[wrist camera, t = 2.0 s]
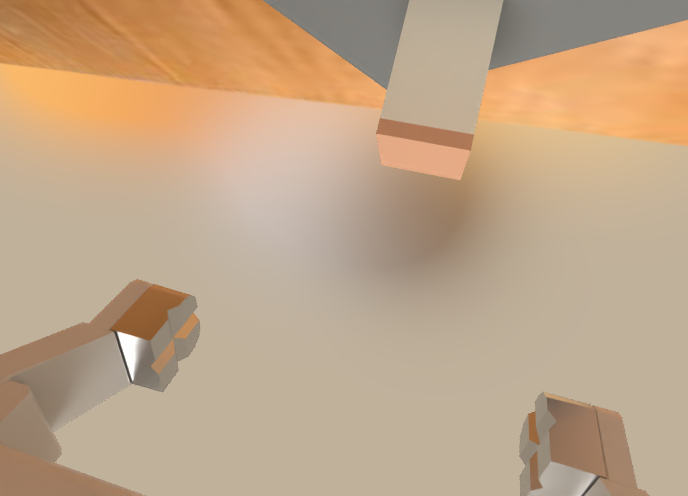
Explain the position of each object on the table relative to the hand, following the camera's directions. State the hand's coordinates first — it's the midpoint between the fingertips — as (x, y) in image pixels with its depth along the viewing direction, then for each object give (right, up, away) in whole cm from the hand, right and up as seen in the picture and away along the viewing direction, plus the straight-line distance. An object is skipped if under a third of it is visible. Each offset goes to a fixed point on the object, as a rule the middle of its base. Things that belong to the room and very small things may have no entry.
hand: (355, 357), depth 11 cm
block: (+6, +15, +15) cm, 22 cm away
